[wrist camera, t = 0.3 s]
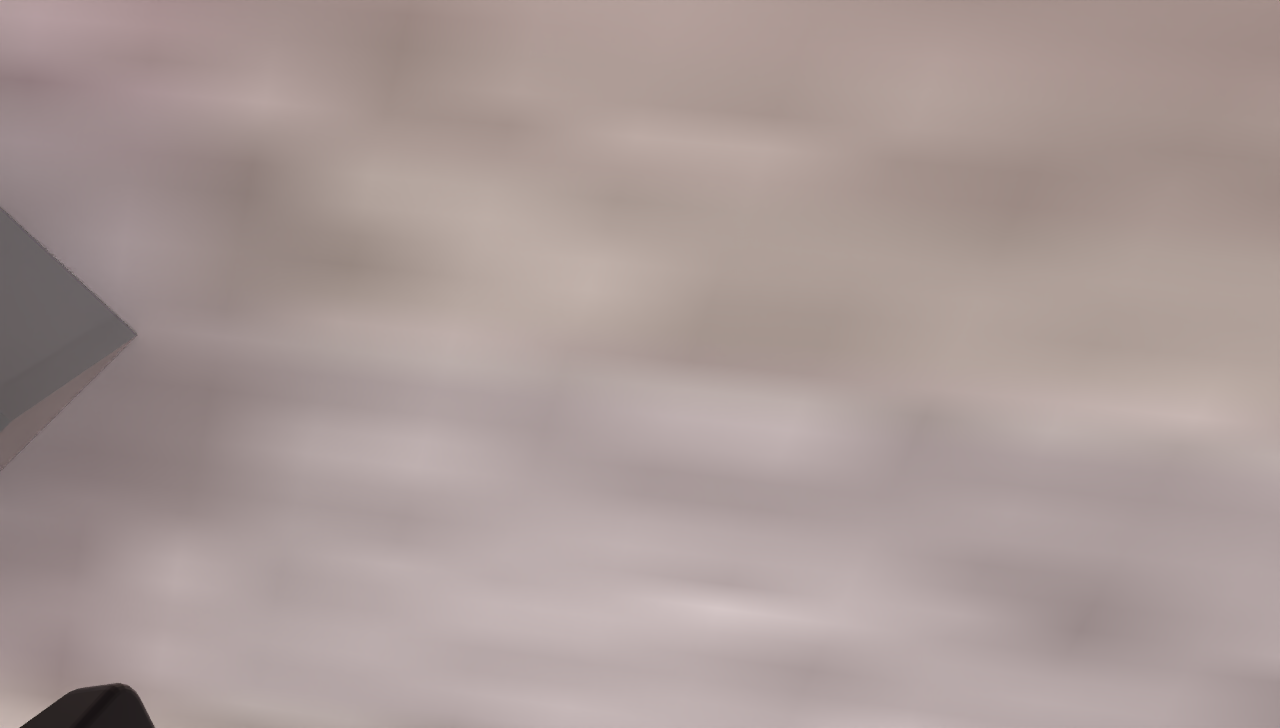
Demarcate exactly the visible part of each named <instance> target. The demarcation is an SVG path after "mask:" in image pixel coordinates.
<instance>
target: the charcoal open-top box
mask: <svg viewBox="0 0 1280 728" xmlns="http://www.w3.org/2000/svg"><path fill="white" fill-rule="evenodd" d="M136 336H137V334H136V333H135V332H134V331H133V330H132V329H131V328H130V327H129V326H127V325H126V324H125V323H124V322H123V321H122V320H121V319H120V318H119V317H118V316H117V315H116V314H115V313H113V312H112V311H111V310H110V309H109V308H108V307H107V306H106V305H105V304H104V303H103V302H102V301H101V300H99V299H98V298H97V297H96V296H95V295H94V294H93V293H92V292H91V291H90V290H89V289H88V288H87V287H85V286H84V285H83V284H82V283H81V282H80V281H79V280H78V279H77V278H76V277H75V276H74V275H73V274H71V273H70V272H69V271H68V270H67V269H66V268H65V267H64V266H63V265H62V264H61V263H60V262H59V261H57V260H56V259H55V258H54V257H53V256H52V255H51V254H50V253H49V252H48V251H47V250H46V249H45V248H43V247H42V246H41V245H40V244H39V243H38V242H37V241H36V240H35V239H34V238H33V237H32V236H31V235H29V234H28V233H27V232H26V231H25V230H24V229H23V228H22V227H21V226H20V225H19V224H18V223H17V222H15V221H14V220H13V219H12V218H11V217H10V216H9V215H8V214H7V213H6V212H5V211H4V210H3V209H1V208H0V471H1V470H2V469H3V468H4V467H5V466H6V465H7V464H8V463H9V462H10V461H11V460H12V459H13V458H14V457H15V456H16V455H17V454H18V453H19V452H20V451H21V450H22V449H23V448H24V447H25V446H26V445H27V444H28V443H29V442H30V441H31V440H32V439H33V438H34V437H35V436H36V435H37V434H38V433H39V432H40V431H41V430H42V429H43V428H44V427H45V426H46V425H47V424H48V423H49V422H50V421H51V420H52V419H53V418H54V417H55V416H56V415H57V414H58V413H59V412H60V411H61V410H62V409H63V408H64V407H65V406H66V405H67V404H68V403H69V402H70V401H71V400H72V399H73V398H74V397H75V396H76V395H77V394H78V393H79V392H80V391H82V390H83V389H84V388H85V387H86V386H87V385H88V384H89V383H90V382H91V381H92V380H93V379H94V378H95V377H96V376H97V375H98V374H99V373H100V372H101V371H102V370H103V369H104V368H105V367H106V366H107V365H108V364H109V363H110V362H111V361H112V360H113V359H114V358H115V357H116V356H117V355H118V354H119V353H120V352H121V351H122V350H123V349H124V348H125V347H126V346H127V345H128V344H129V343H130V342H131V341H132V340H133V339H134V338H135V337H136Z"/></svg>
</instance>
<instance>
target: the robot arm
mask: <svg viewBox="0 0 1280 728" xmlns="http://www.w3.org/2000/svg"><path fill="white" fill-rule="evenodd" d="M20 728H155V727H154V725H153V723H152V721H151V719H150V717H149V715H148V713H147V711H146V709H145V707H144V705H143V703H142V701H141V699H140V697H139V696H138V694H137V693H136V691H135V690H133V689H132V688H131V687H130V686H128V685H125V684H121V683H115V684H107V685H100V686H92V687H85V688H80V689H76V690H73V691H71V692H69V693H68V694H66V695H64V696H63V697H62V698H60V699H59V700H57V701H56V702H55V703H53V704H52V705H51V706H49V707H48V708H46V709H45V710H44V711H42V712H41V713H39V714H38V715H37V716H35V717H34V718H32V719H31V720H30V721H28V722H27V723H26V724H24V725H23V726H21V727H20Z"/></svg>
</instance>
